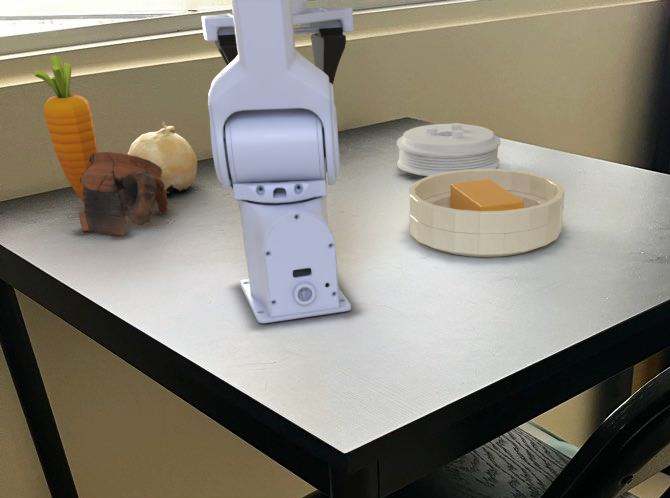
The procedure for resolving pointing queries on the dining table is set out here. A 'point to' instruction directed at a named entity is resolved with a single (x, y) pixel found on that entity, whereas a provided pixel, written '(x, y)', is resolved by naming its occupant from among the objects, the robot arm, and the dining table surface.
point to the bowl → (486, 214)
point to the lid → (447, 149)
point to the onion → (168, 156)
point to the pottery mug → (120, 192)
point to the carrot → (69, 125)
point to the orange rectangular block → (482, 197)
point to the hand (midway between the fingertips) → (287, 116)
